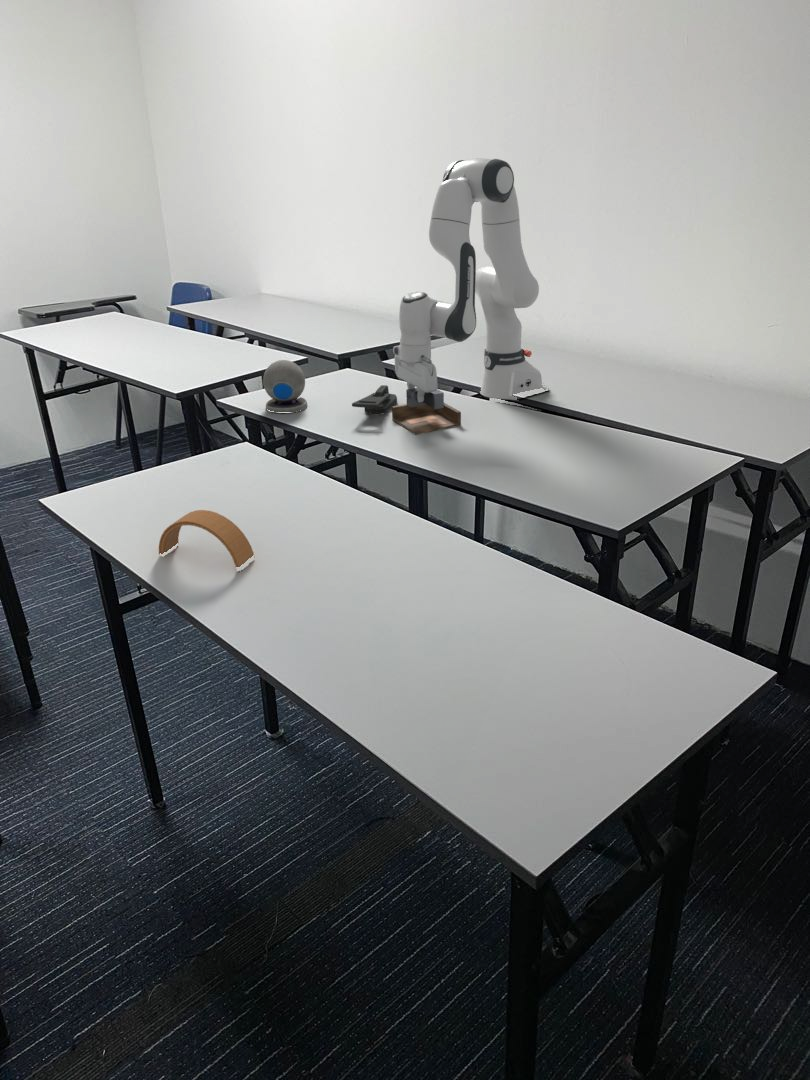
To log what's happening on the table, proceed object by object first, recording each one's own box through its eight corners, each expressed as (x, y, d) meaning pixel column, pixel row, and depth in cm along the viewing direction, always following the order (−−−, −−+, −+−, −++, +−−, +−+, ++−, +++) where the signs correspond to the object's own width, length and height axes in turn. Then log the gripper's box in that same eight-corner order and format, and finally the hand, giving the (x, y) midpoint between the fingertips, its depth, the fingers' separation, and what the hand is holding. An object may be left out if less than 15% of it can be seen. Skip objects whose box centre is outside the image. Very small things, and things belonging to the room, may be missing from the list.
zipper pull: (348, 403, 239) (371, 379, 260) (350, 425, 242) (372, 399, 263) (378, 405, 237) (399, 380, 258) (379, 426, 240) (399, 400, 262)
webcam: (308, 400, 264) (304, 354, 257) (305, 413, 253) (301, 365, 246) (268, 402, 264) (263, 356, 257) (263, 415, 252) (258, 367, 245)
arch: (176, 545, 177) (168, 503, 172) (255, 560, 169) (249, 517, 165) (159, 557, 172) (151, 514, 167) (239, 573, 165) (233, 529, 160)
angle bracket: (430, 400, 243) (430, 385, 241) (443, 407, 236) (443, 392, 234) (406, 404, 240) (406, 389, 237) (419, 412, 233) (418, 397, 231)
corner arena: (436, 411, 251) (436, 398, 249) (460, 425, 239) (460, 411, 237) (392, 419, 245) (391, 406, 243) (415, 434, 233) (414, 420, 231)
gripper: (442, 359, 225) (443, 407, 231) (409, 343, 242) (410, 389, 248) (422, 362, 223) (423, 410, 229) (390, 346, 239) (391, 392, 245)
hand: (416, 399), depth 239 cm, fingers closed on angle bracket, 3 cm apart
